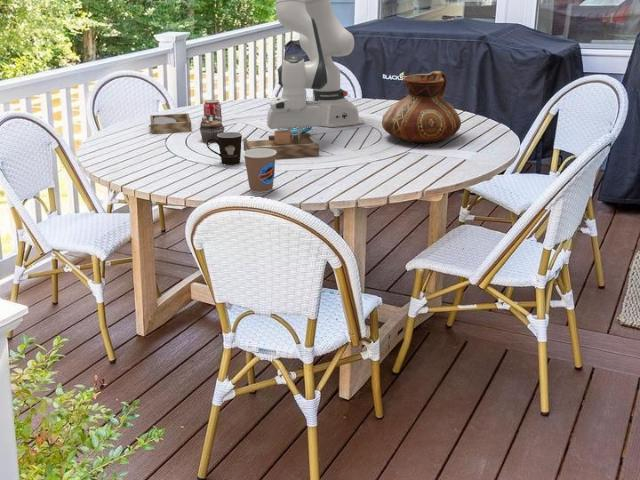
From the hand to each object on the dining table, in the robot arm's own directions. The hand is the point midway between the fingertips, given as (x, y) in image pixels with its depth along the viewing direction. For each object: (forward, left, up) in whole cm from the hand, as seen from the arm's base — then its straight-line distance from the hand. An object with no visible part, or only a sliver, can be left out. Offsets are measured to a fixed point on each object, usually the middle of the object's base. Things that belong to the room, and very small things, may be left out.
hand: (295, 139), depth 294 cm
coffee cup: (+20, +47, -4) cm, 51 cm away
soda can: (+27, -40, -4) cm, 48 cm away
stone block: (+46, -49, -4) cm, 67 cm away
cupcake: (+29, -22, -4) cm, 37 cm away
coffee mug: (+27, +12, -4) cm, 29 cm away
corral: (+44, -48, -4) cm, 65 cm away
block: (+5, 0, -1) cm, 5 cm away
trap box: (+6, +3, -4) cm, 8 cm away
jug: (-49, -2, -4) cm, 49 cm away
